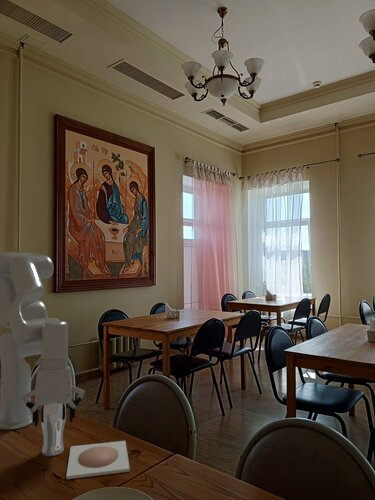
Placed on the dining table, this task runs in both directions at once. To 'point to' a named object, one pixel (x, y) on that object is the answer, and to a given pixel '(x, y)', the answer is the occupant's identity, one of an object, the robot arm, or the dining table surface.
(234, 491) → the dining table surface
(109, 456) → the card
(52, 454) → the beer glass
